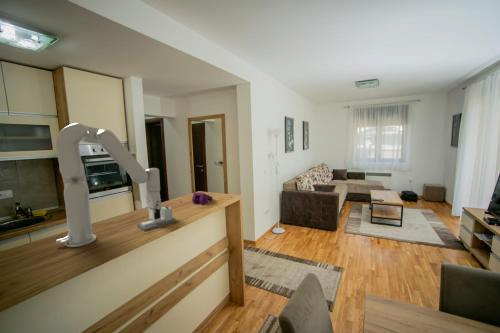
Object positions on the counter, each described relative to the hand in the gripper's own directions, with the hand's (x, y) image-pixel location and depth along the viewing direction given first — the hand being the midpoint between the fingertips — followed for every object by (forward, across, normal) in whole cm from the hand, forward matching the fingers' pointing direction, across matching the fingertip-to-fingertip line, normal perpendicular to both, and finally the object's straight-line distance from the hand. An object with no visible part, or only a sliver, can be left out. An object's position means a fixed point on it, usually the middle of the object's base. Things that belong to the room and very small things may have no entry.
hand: (154, 216), depth 133 cm
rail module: (+2, 0, 0) cm, 2 cm away
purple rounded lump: (+6, -18, +50) cm, 53 cm away
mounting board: (+5, 0, +1) cm, 5 cm away
